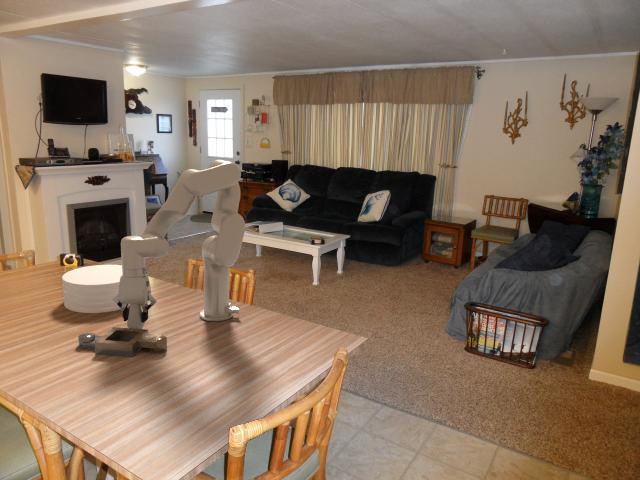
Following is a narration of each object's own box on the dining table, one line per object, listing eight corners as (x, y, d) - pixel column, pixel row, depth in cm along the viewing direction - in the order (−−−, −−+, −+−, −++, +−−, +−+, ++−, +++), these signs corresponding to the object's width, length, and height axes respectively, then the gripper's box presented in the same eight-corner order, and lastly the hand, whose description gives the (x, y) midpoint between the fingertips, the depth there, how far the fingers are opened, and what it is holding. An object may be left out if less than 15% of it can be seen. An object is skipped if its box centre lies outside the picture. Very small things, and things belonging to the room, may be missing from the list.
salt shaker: (128, 334, 164) (126, 298, 161) (126, 327, 169) (124, 293, 166) (145, 331, 167) (144, 296, 164) (143, 325, 172) (142, 291, 169)
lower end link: (148, 340, 160) (148, 332, 159) (132, 356, 148) (132, 348, 147) (89, 336, 161) (89, 328, 160) (69, 352, 149) (68, 343, 148)
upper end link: (173, 342, 159) (173, 331, 158) (159, 358, 147) (158, 347, 147) (114, 338, 160) (113, 327, 159) (95, 354, 149) (94, 342, 148)
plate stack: (153, 299, 199) (152, 273, 196) (90, 319, 175) (89, 289, 173) (112, 285, 213) (111, 261, 211) (49, 302, 190) (47, 274, 187)
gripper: (162, 270, 166) (163, 318, 170) (114, 267, 167) (117, 315, 171) (153, 276, 159) (155, 326, 163) (104, 273, 160) (106, 323, 164)
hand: (135, 320), depth 167 cm, fingers open, 5 cm apart
